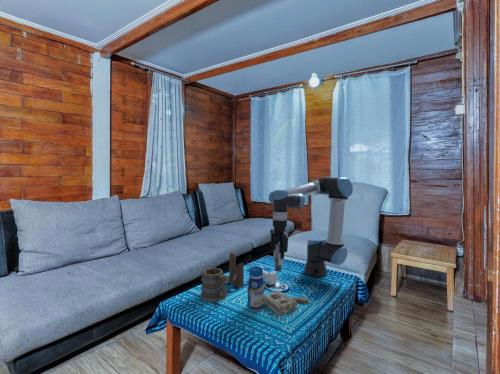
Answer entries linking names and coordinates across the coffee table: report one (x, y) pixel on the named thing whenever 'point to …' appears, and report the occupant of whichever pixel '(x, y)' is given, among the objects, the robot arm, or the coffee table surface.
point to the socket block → (279, 302)
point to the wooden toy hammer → (235, 272)
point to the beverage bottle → (255, 289)
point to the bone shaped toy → (269, 276)
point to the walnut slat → (300, 299)
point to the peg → (277, 258)
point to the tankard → (213, 285)
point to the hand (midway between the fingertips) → (278, 263)
